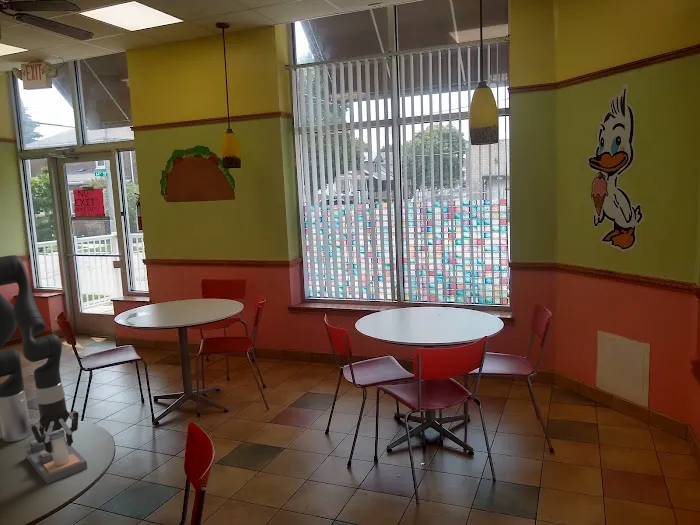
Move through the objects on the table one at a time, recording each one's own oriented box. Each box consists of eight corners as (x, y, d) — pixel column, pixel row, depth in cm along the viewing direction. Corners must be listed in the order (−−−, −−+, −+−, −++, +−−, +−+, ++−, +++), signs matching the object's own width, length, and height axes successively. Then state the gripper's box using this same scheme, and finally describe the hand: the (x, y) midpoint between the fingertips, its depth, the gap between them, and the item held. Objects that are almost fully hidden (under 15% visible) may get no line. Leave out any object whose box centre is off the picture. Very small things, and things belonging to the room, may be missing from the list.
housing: (26, 458, 188) (24, 445, 187) (64, 444, 196) (62, 432, 195) (46, 484, 169) (44, 470, 169) (87, 468, 177) (85, 455, 177)
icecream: (57, 425, 197) (66, 413, 211) (34, 424, 195) (45, 412, 209) (55, 444, 197) (64, 431, 211) (32, 444, 195) (42, 430, 209)
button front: (41, 460, 179) (39, 452, 179) (49, 457, 181) (47, 449, 180) (43, 463, 177) (41, 454, 177) (51, 460, 179) (49, 451, 179)
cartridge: (51, 463, 176) (45, 434, 175) (66, 457, 180) (60, 428, 178) (57, 467, 173) (51, 437, 172) (72, 460, 176) (66, 431, 175)
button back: (32, 449, 188) (30, 441, 188) (39, 446, 190) (38, 438, 189) (33, 451, 186) (32, 443, 186) (41, 449, 188) (40, 440, 187)
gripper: (71, 388, 180) (79, 436, 183) (22, 402, 171) (31, 453, 174) (79, 393, 175) (87, 443, 178) (28, 409, 165) (37, 461, 168)
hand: (59, 448), depth 176 cm, fingers open, 5 cm apart
